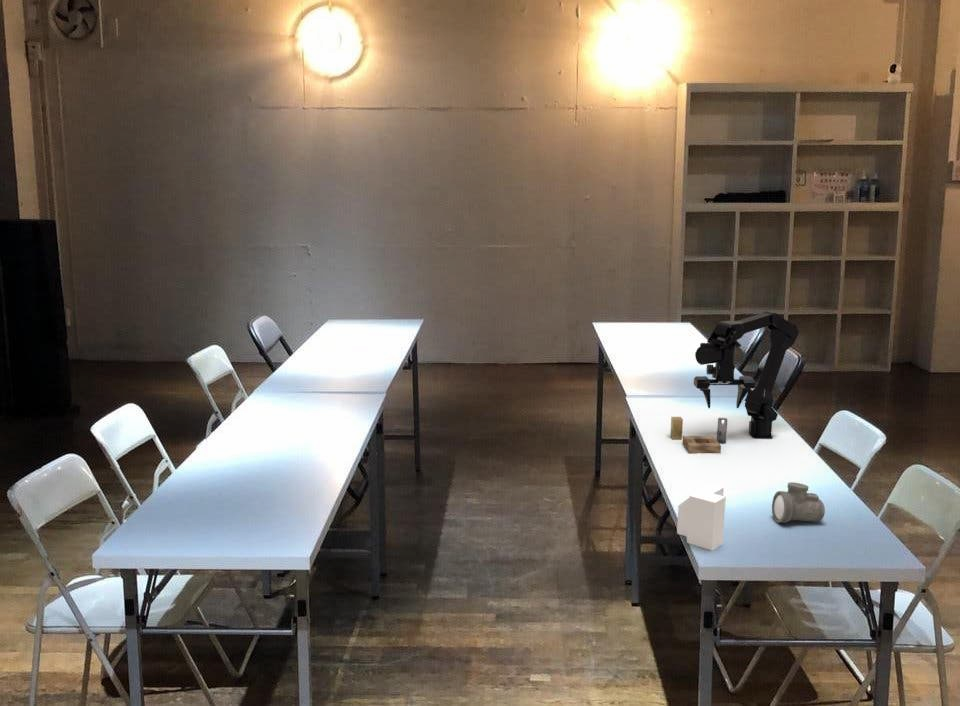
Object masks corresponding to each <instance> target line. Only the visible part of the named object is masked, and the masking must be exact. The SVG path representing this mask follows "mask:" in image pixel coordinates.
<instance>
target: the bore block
mask: <svg viewBox="0 0 960 706" xmlns="http://www.w3.org/2000/svg"><path fill="white" fill-rule="evenodd" d="M682 445H683V447H684V448H685V450H686V452H687V453H688V454H697V453H722V444H719V443H718V441H717V438H716V437H715V436H706V435H705V436H703V435H702V436H699V435H698V436H697V435H696V436H695V435H693V436H690V435H689V436H688V435H682Z"/></svg>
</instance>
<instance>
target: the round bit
mask: <svg viewBox="0 0 960 706" xmlns="http://www.w3.org/2000/svg"><path fill="white" fill-rule="evenodd" d="M727 429H728V418H727V417H718V418H717V429H716V440H717V441H718V443H719V444H720V445H724V444H726V443H727V431H728V430H727Z"/></svg>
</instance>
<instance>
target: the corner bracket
mask: <svg viewBox="0 0 960 706" xmlns="http://www.w3.org/2000/svg"><path fill="white" fill-rule="evenodd" d="M726 500H727V497H726V496H724V487H722V486H718V485H714V484H709V485H707V486H705V487H703V488H702V489H700V490H698V491H696V492H694V493H692V494H691V495H689V497H688V498H687V499H685V500H684V501H683V502H681V503H680V504H679V505H677V506H678V508H677V510H678V511H677V512H678V513H677V524H676V526H677V527H676V534H677V535H681V536H683V537H687V538H686V543H687V544H689V545H693V546H696V547H699V548H700V547H701V548H703V549H705V550H710V551H714V550H715V549H717V548H718V547H720V546H721V545H723V544H724V529H725V528H724V527H725V513H726Z"/></svg>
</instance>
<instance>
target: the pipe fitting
mask: <svg viewBox="0 0 960 706" xmlns="http://www.w3.org/2000/svg"><path fill="white" fill-rule="evenodd" d="M771 513H772V517H773V520H774V522H776V523H777V524H786V523H789V521H791V520H792V521H803V522H811V523H820V522H821V521H822V520H823V519H824V517H825V514H826V509H825V504H824V502H823V501H822V500H821V499H820V497H819V495H818V494H817V493H813V492H809V486H808V485H806V484H804V483H800V482H794V481H793V482H791V481H790V482H787V491H785V490H784V491H783V490H778V491H776V492H775V494H774V496H773V498H772V503H771Z"/></svg>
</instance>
